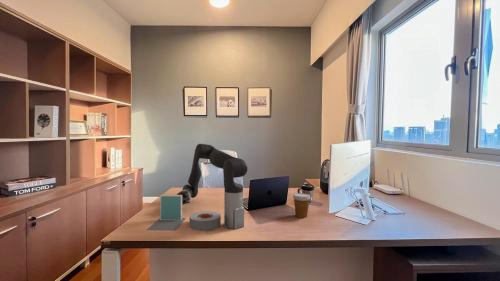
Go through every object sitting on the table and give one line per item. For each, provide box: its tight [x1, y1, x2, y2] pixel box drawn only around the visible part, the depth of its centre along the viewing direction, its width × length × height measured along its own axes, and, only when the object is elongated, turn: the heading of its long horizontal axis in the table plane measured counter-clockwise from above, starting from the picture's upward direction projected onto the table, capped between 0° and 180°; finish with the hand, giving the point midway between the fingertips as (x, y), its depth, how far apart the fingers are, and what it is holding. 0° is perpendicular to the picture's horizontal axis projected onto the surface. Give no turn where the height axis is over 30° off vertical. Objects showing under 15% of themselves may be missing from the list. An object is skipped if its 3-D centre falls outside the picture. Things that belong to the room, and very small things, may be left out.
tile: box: [159, 194, 183, 220], centre depth 135 cm, size 11×2×13 cm, turn 89°
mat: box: [146, 217, 187, 232], centre depth 130 cm, size 14×18×1 cm
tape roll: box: [188, 211, 222, 232], centre depth 129 cm, size 15×15×5 cm
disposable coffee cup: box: [292, 192, 311, 219], centre depth 145 cm, size 10×10×12 cm
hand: (174, 204), depth 141 cm, fingers closed
